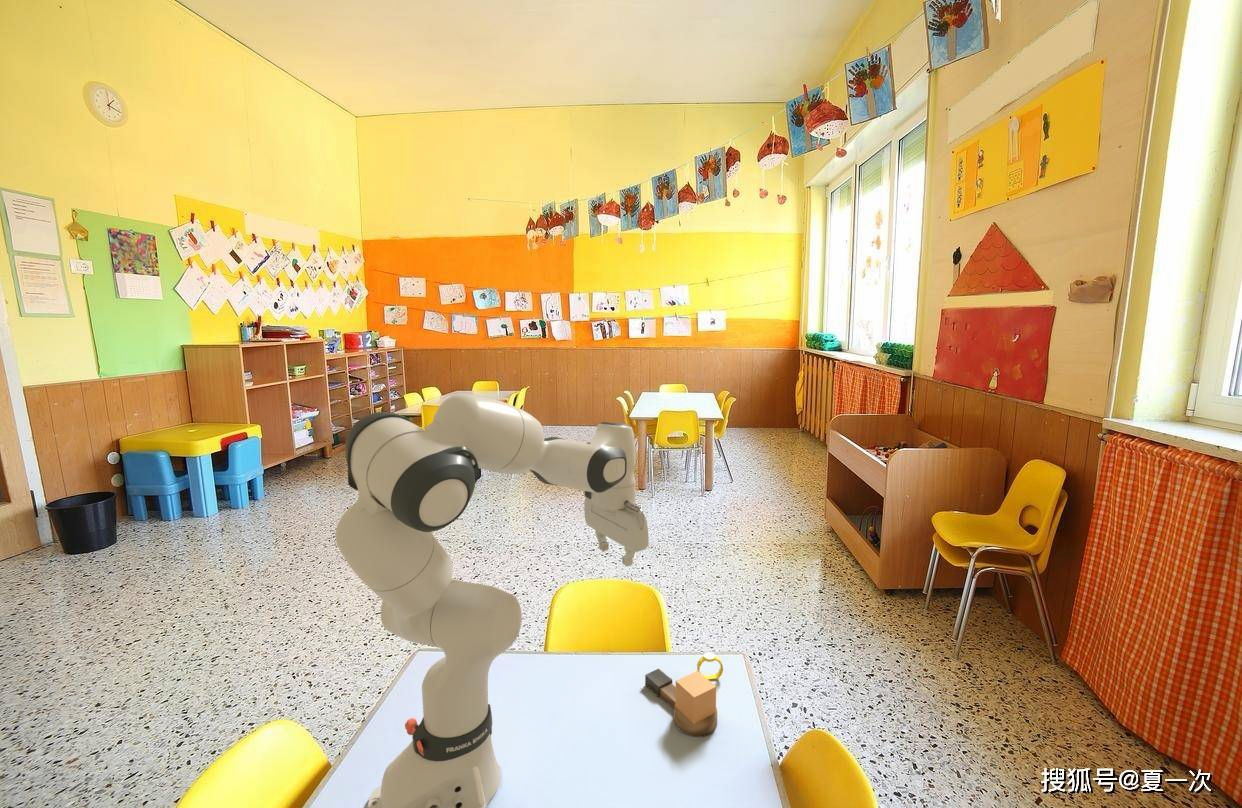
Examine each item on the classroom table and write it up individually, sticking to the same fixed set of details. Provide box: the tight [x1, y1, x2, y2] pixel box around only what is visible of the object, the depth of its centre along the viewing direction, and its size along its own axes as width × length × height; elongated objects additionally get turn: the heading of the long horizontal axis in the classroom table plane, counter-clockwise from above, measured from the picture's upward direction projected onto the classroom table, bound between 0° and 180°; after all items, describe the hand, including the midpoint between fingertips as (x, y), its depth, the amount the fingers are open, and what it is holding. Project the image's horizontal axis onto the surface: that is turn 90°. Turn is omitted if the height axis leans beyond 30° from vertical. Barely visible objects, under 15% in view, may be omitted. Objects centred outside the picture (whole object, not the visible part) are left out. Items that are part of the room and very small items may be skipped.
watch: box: [696, 651, 724, 681], centre depth 123 cm, size 6×3×6 cm, turn 92°
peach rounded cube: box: [675, 670, 717, 724], centre depth 110 cm, size 6×6×6 cm
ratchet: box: [644, 668, 718, 738], centre depth 114 cm, size 9×20×6 cm, turn 35°
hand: (615, 557), depth 114 cm, fingers open, 8 cm apart
